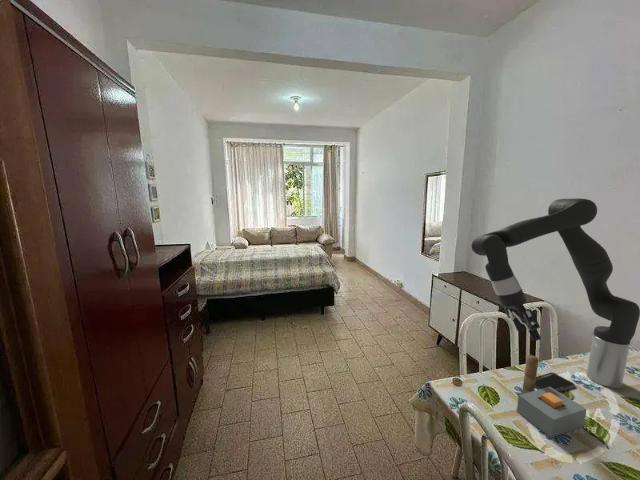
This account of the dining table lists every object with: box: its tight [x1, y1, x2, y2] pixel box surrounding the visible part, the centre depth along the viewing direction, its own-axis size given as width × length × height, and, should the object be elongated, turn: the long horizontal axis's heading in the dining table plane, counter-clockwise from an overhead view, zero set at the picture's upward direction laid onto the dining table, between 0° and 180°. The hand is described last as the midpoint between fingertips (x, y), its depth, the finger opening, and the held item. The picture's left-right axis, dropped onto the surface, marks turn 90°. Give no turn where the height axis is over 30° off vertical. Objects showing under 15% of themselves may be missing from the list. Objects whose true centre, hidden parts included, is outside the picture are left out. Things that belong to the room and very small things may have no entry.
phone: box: [535, 372, 576, 393], centre depth 98 cm, size 8×1×15 cm
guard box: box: [516, 387, 587, 439], centre depth 82 cm, size 14×10×6 cm
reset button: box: [541, 392, 563, 409], centre depth 82 cm, size 4×4×4 cm
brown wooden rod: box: [521, 354, 539, 394], centre depth 92 cm, size 3×3×14 cm
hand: (528, 335), depth 87 cm, fingers open, 8 cm apart
